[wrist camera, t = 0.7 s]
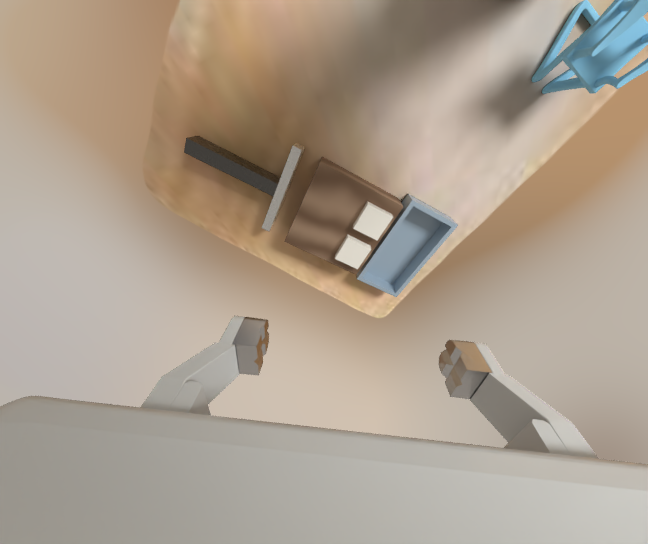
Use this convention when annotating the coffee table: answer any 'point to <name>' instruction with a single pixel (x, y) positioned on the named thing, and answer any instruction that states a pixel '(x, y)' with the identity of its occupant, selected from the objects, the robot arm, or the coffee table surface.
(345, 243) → the tile
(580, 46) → the light blue open frame
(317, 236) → the plate
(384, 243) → the box
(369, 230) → the tile
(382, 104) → the coffee table surface
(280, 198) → the scraper
